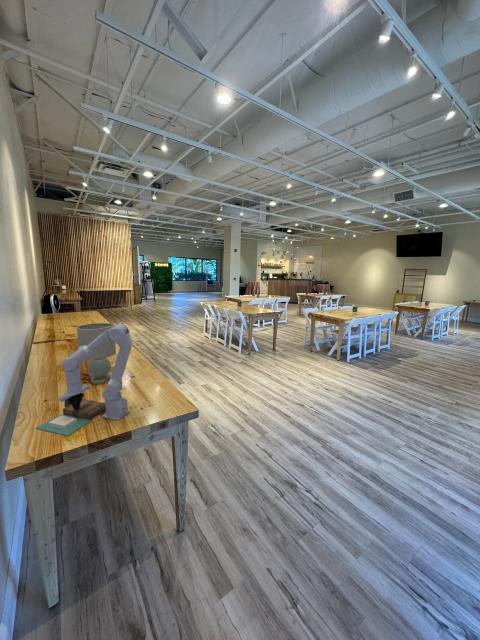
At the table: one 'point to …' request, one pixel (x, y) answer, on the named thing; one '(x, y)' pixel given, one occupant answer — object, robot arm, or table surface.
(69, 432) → the mat
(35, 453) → the table surface
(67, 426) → the white rectangular block
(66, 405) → the phone
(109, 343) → the lamp
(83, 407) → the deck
